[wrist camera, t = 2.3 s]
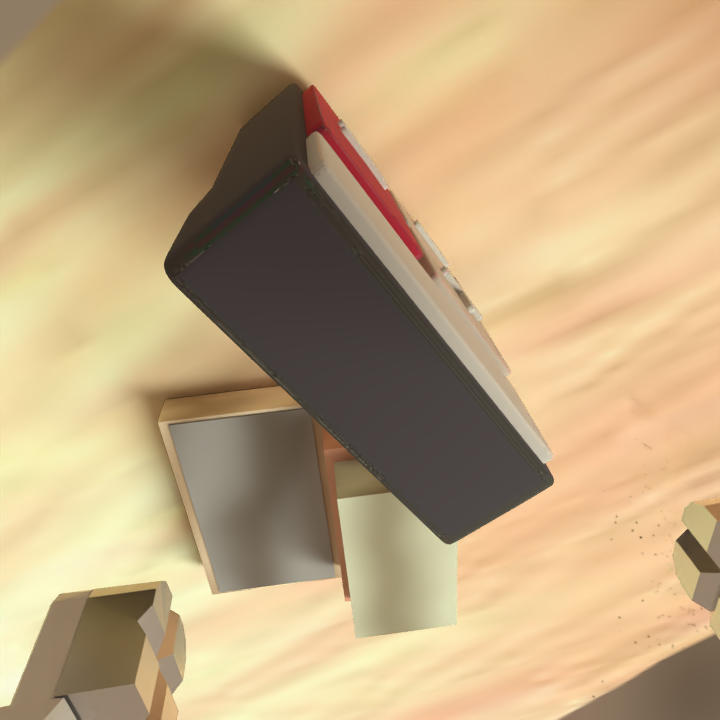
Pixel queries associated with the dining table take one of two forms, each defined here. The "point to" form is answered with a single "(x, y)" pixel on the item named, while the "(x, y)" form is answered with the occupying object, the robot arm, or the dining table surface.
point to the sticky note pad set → (301, 511)
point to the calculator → (359, 317)
